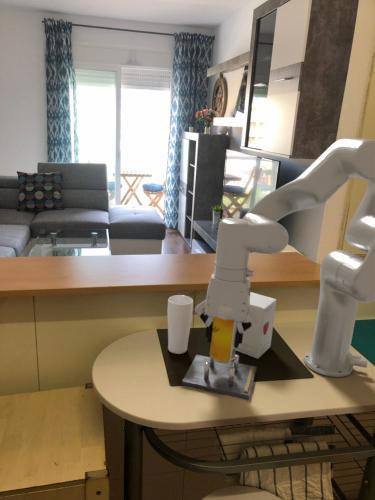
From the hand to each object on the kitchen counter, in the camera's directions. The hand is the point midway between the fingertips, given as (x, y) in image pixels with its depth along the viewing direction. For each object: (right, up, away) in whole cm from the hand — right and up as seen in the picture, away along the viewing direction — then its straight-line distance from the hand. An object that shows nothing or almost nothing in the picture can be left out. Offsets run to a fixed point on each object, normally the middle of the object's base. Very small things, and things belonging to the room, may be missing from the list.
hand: (223, 342), depth 101 cm
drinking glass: (-11, -6, +15) cm, 19 cm away
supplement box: (+9, -6, +18) cm, 21 cm away
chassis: (-1, -9, +3) cm, 10 cm away
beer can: (0, -4, +1) cm, 5 cm away
